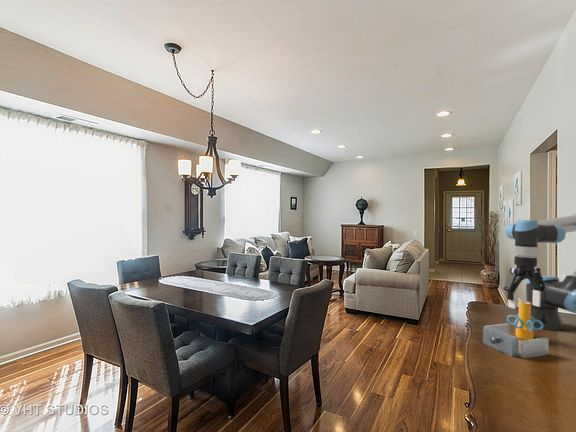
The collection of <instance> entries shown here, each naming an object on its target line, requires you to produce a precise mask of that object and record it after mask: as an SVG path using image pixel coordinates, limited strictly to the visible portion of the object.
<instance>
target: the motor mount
mask: <svg viewBox="0 0 576 432" xmlns="http://www.w3.org/2000/svg"><path fill="white" fill-rule="evenodd" d="M510 325H511V324H510V323H509V322H508V323H498V324H497V323H496V324H489V325H484V326H483V328H482V332H483V333H482V343H483V344H484V345H487V346H488V347H490V348H493V349H495V350H497V351H499V352H501V353H504V354H506V355H507V356H510V357H512V358H513V357H520V358H522V357H523V359H527V358H535V357H543V356H548V355H549V351H550V349H549V344H550V341H549V339H550V338H549V337H538V338H533V339H530V340H523V339H520V338H518V337H516V335H515V336H514V335H511V334H510V327H511V326H510Z"/></svg>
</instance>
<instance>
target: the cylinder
mask: <svg viewBox="0 0 576 432" xmlns="http://www.w3.org/2000/svg"><path fill="white" fill-rule="evenodd" d="M511 317H513V318H515V321H514V322H512V321H511V320H510V318H511ZM531 318H532V321H531ZM506 320H507V322H508V324H510V325H512V326H514V327H515V337H517V338H519V340H530V339H534V335H535V334H534V330H536V331H541V330H544V329H543V323H542V322H541V321H539V320H536V319H534V317H532V316H531V303H530V302H526V300H519V301H518V313H517V314H516V315H514V314H509V315H507V317H506ZM535 321H537V322H539V323H540V324H541V327H540V328H537V327H534V323H535Z"/></svg>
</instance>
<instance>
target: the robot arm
mask: <svg viewBox="0 0 576 432" xmlns="http://www.w3.org/2000/svg"><path fill="white" fill-rule="evenodd" d="M572 232H576V212H573V213H572V214H571V215H567V216H562V217H554V218H549V219H542V220H536V219H518V220H516V221H515V223H510V224H508V225H507V226H506V228H505V235H506V236H507V238H509V239H511V240H514V255H515V256H514V261H513V264H514V265H515V266H516V268H515V267H509V274H508V276H507V279H506V281H505V283H504V286H503V291H505V292H507V307H508V308H511V309H514V310H515V309H516V308H517V292H516V291H517V289H518V287H519V286H520V284H521V283H522V281H524V280H526V283H525V287H526V288H525V289H526V290H525V291H526V292H525V294H526V295H525V301H526V302H530V303H531V316H532V317H534V319H536V320H539V321H541V322H542V323H543V329H542V330H548V331H550V330H551V331H561V330H563V329H564V322H563V320H562V318H561V314H560V312H559V309H561V310H564V311H568V312H571V313H572V314H573V313H574V314H576V270H575V271H574V272H573V274H568V275H565V277H564V278H563V280H561V281H560V278H559V277H558V276H554V275H542V273H541V272H542V271H541V268H540V267H537V266H538V258H537V257H538V243H543V244H547V243H548V244H549V243H550V244H555V243H561V242H563V241H564V240H565V239H566V234H568V233H572ZM531 321H532V318H531ZM534 327H535V328H540V327H541V324H540V323H539V322H537V321H535V323H534Z"/></svg>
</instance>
